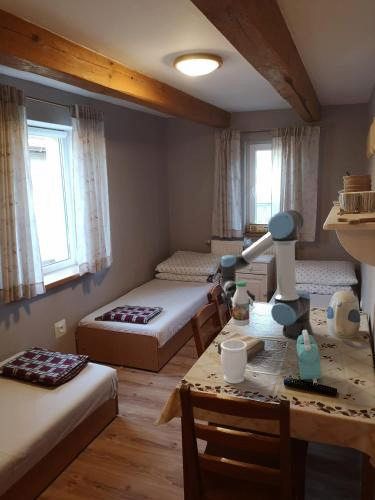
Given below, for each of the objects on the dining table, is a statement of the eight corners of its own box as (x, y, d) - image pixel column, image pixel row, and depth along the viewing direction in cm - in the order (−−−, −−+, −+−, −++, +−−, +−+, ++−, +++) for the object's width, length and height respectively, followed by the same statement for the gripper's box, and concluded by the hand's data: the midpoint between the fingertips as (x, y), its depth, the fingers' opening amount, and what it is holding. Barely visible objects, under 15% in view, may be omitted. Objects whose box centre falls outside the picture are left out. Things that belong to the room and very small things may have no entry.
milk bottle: (232, 320, 187) (232, 280, 183) (248, 320, 187) (248, 279, 183) (233, 326, 180) (233, 284, 176) (250, 326, 179) (250, 284, 176)
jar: (229, 387, 154) (228, 352, 151) (216, 376, 163) (216, 342, 160) (252, 381, 158) (251, 346, 155) (238, 370, 167) (238, 337, 164)
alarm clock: (323, 390, 150) (324, 340, 146) (297, 388, 152) (298, 339, 148) (317, 368, 167) (319, 324, 163) (294, 367, 168) (295, 323, 165)
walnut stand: (264, 349, 187) (264, 339, 186) (247, 362, 174) (247, 351, 174) (236, 341, 197) (236, 332, 196) (218, 353, 184) (217, 343, 184)
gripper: (252, 296, 200) (265, 310, 178) (212, 298, 198) (221, 313, 176) (252, 281, 199) (265, 295, 177) (212, 283, 197) (221, 297, 175)
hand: (243, 304), depth 176 cm, fingers closed on milk bottle, 7 cm apart
